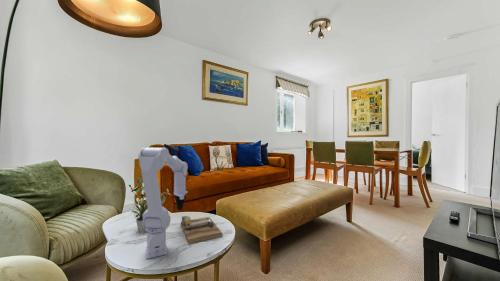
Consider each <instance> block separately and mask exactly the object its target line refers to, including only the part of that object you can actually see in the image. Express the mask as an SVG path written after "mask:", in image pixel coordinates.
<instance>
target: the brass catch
mask: <svg viewBox="0 0 500 281" xmlns="http://www.w3.org/2000/svg"><path fill="white" fill-rule="evenodd" d="M191 220H192V219H191V217H190V216H187V217H185V223H186V225H188V224H191Z"/></svg>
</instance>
